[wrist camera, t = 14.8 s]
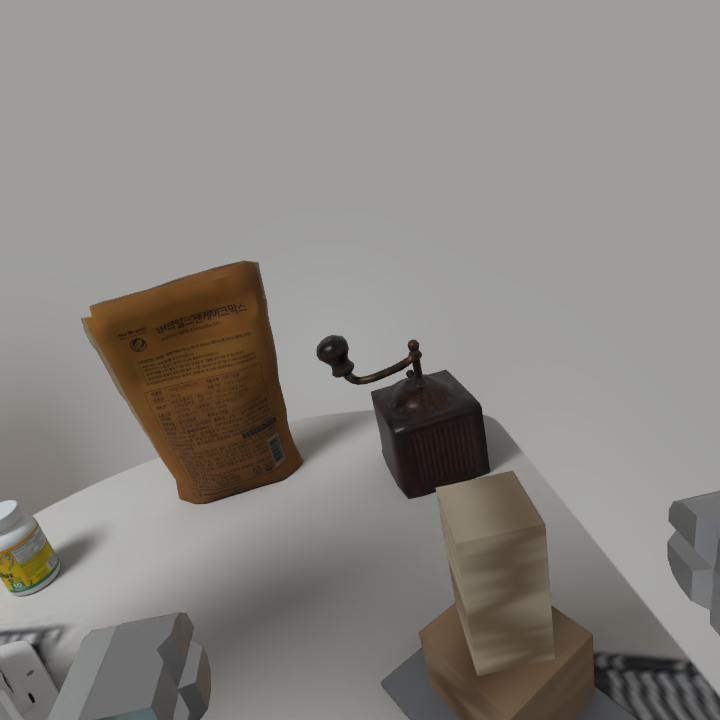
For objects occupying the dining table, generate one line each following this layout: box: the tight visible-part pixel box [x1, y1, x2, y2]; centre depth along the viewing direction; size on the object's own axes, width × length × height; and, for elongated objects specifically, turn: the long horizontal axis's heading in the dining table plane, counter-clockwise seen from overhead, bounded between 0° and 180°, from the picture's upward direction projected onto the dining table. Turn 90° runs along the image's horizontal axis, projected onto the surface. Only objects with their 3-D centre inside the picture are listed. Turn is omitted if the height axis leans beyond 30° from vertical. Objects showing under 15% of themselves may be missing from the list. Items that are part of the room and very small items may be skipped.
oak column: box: [436, 471, 555, 676], centre depth 34 cm, size 5×5×11 cm
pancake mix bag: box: [81, 261, 304, 504], centre depth 63 cm, size 7×19×28 cm, turn 103°
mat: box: [381, 648, 637, 720], centre depth 37 cm, size 16×11×1 cm
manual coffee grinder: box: [317, 335, 490, 499], centre depth 61 cm, size 16×11×18 cm
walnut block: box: [419, 602, 595, 720], centre depth 37 cm, size 8×8×6 cm
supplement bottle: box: [0, 500, 60, 596], centre depth 58 cm, size 5×5×10 cm
